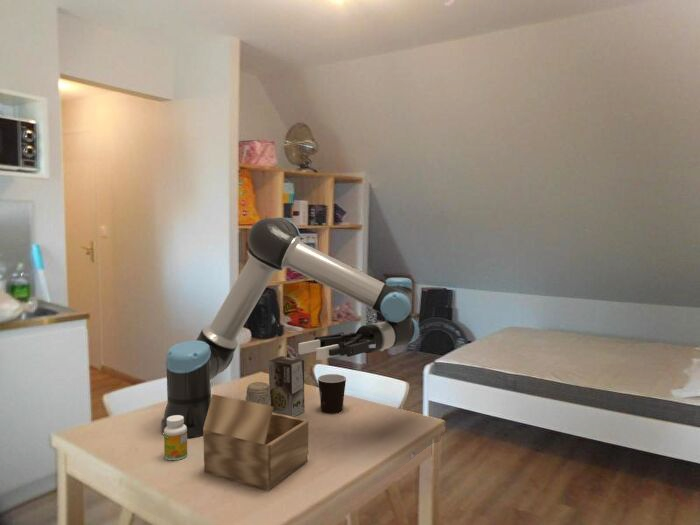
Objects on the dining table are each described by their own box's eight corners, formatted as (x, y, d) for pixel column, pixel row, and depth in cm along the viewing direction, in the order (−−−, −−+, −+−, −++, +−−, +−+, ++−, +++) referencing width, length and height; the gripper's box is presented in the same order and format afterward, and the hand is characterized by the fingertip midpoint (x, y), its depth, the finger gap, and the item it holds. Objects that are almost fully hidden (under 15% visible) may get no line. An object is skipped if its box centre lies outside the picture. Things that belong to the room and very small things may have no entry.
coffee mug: (342, 416, 157) (342, 383, 157) (314, 414, 159) (314, 381, 158) (350, 403, 169) (350, 372, 168) (324, 401, 171) (324, 370, 170)
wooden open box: (202, 471, 123) (201, 429, 122) (247, 444, 137) (247, 407, 137) (270, 491, 114) (269, 446, 113) (310, 460, 129) (310, 420, 128)
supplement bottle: (159, 459, 129) (158, 420, 128) (174, 450, 134) (173, 412, 133) (177, 462, 127) (176, 423, 126) (192, 453, 132) (191, 415, 132)
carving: (265, 431, 146) (265, 389, 145) (240, 428, 148) (240, 386, 147) (274, 423, 152) (274, 382, 151) (250, 420, 154) (250, 380, 153)
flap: (204, 429, 121) (202, 429, 121) (213, 394, 124) (212, 394, 123) (264, 444, 113) (263, 444, 113) (273, 406, 116) (272, 406, 115)
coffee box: (305, 411, 161) (305, 359, 160) (292, 418, 156) (291, 364, 155) (282, 405, 166) (281, 355, 165) (268, 412, 161) (268, 359, 160)
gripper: (400, 357, 139) (333, 375, 123) (350, 344, 153) (285, 358, 137) (401, 329, 138) (333, 343, 122) (350, 319, 152) (284, 330, 137)
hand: (308, 351), depth 130 cm, fingers open, 6 cm apart
